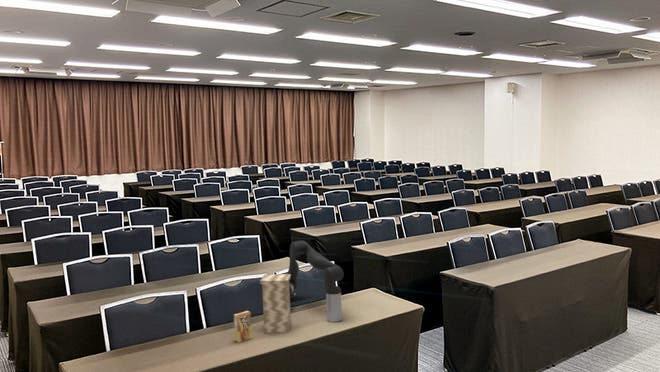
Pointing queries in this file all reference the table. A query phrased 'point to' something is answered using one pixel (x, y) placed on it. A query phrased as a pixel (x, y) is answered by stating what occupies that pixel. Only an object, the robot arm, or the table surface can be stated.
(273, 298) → the pedestal
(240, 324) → the candy box
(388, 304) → the table surface
